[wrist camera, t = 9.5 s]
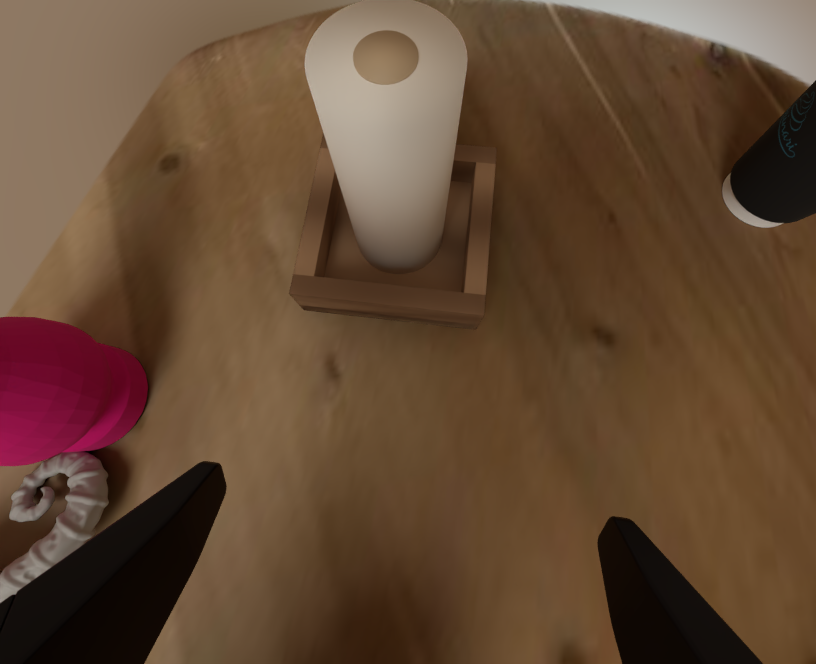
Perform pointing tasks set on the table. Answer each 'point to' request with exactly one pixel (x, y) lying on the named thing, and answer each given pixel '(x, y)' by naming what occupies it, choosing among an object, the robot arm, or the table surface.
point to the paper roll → (390, 122)
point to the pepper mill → (63, 391)
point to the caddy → (400, 293)
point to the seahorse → (70, 525)
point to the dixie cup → (778, 170)
